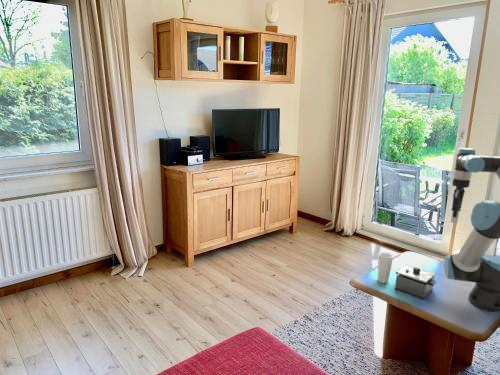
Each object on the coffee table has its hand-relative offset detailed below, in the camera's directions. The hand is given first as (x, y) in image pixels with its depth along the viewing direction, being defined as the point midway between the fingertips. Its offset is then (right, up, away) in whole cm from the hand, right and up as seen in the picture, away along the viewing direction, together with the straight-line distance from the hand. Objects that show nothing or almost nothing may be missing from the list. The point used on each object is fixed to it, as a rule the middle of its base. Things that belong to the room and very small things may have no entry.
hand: (454, 222), depth 191 cm
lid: (-23, -25, -6) cm, 35 cm away
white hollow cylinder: (-36, -32, +3) cm, 48 cm away
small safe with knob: (-23, -34, -4) cm, 41 cm away
